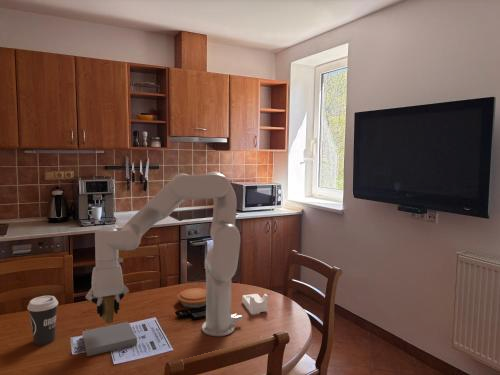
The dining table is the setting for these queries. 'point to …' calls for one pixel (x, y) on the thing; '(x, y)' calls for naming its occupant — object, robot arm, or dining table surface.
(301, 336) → the dining table surface
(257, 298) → the bracket
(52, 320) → the coffee cup
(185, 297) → the pie
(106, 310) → the rock
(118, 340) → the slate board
